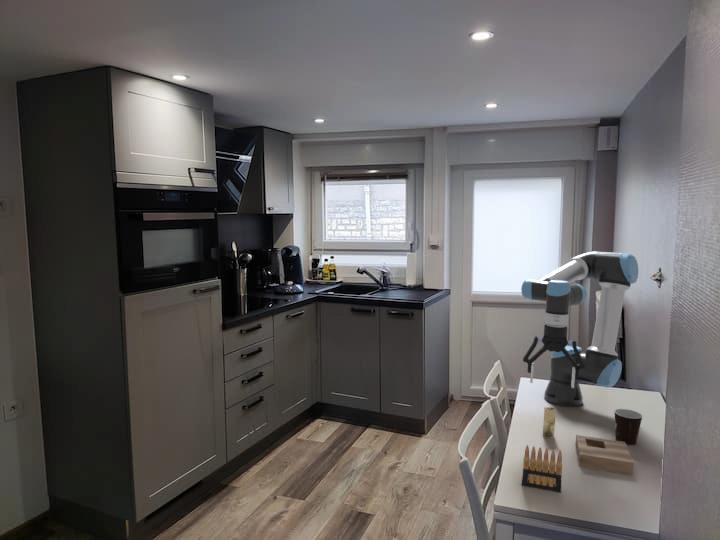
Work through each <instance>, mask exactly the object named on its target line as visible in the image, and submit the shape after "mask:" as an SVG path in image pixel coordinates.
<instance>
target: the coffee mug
mask: <svg viewBox="0 0 720 540" xmlns="http://www.w3.org/2000/svg"><path fill="white" fill-rule="evenodd" d="M642 421H643V415H642V414H641V413H640V412H638V411H635V410H633V409H626V408H618V409H614V429H615V441H621V442H625V443H626V445H627V446H635V445H636V444H637V442H638V437H639V432H640V429H641V424H642Z"/></svg>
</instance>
